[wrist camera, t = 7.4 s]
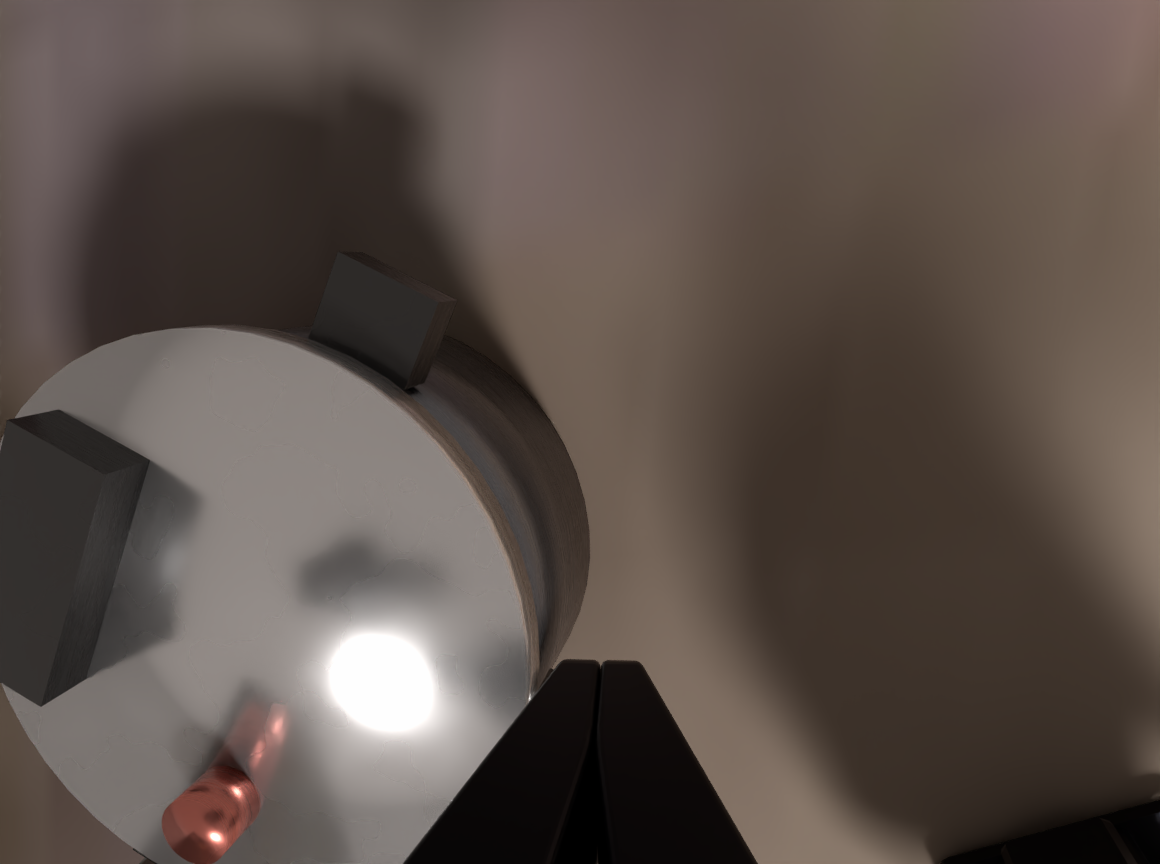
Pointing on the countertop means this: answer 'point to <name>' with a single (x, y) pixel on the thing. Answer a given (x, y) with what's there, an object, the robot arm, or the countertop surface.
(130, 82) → the countertop surface
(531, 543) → the cooker pot
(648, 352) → the countertop surface
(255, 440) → the cooker lid
